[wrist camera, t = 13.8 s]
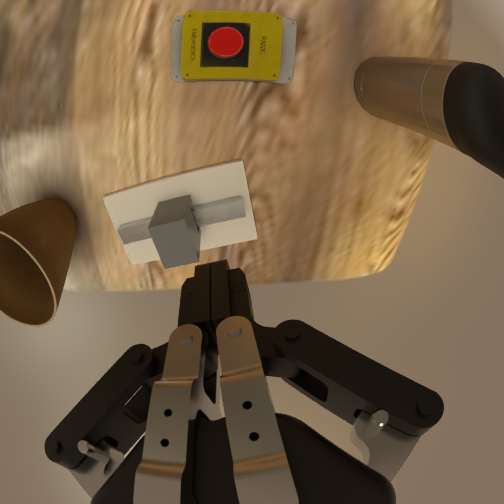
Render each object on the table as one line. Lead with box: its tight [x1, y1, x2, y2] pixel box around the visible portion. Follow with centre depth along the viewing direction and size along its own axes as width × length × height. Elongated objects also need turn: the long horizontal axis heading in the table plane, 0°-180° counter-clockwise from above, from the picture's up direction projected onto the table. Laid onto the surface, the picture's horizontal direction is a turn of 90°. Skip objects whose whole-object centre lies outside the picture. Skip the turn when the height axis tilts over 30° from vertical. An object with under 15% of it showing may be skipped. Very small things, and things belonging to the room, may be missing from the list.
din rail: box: [117, 196, 246, 245], centre depth 37 cm, size 18×2×2 cm, turn 100°
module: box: [148, 194, 201, 269], centre depth 34 cm, size 4×6×7 cm
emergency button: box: [170, 10, 297, 84], centre depth 25 cm, size 9×4×15 cm
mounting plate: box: [102, 159, 258, 265], centre depth 38 cm, size 20×12×1 cm, turn 100°
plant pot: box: [0, 199, 76, 327], centre depth 29 cm, size 15×15×16 cm
